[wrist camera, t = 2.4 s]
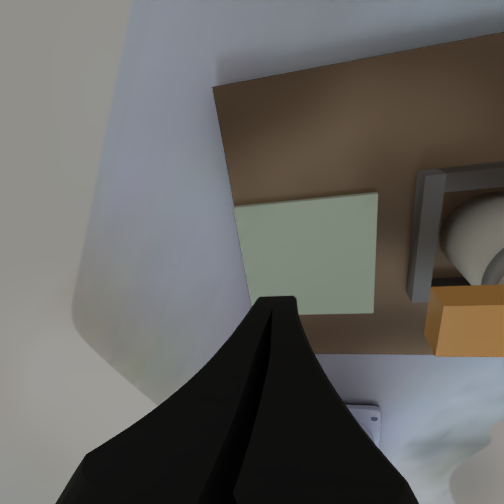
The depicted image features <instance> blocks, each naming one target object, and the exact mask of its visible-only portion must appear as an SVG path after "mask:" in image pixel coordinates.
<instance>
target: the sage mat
mask: <svg viewBox="0 0 504 504" xmlns="http://www.w3.org/2000/svg"><path fill="white" fill-rule="evenodd" d="M233 210H234V215H235V220H236V226H237V231H238V236H239V242H240V247H241V252H242V258H243V263H244V268H245V274H246V279H247V284H248V290H249V295H250V300H251V306H253V305H254V303H255V302H256V300H257V299H258V298H259V297H265V296H294V297H296V298H297V307H298V314H299V315H309V314H359V313H373V312H374V286H375V261H376V235H377V210H378V193H377V192H372V193H361V194H351V195H341V196H331V197H321V198H311V199H301V200H291V201H281V202H271V203H261V204H251V205H241V206H234V208H233Z"/></svg>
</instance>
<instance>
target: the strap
mask: <svg viewBox="0 0 504 504" xmlns="http://www.w3.org/2000/svg"><path fill="white" fill-rule="evenodd" d="M424 335H425V337H426V339H427V341H428V343H429V345H430V347H431V349H432V351H433V353H434V355H435V356H444V357H504V284H499V285H471V286H443V287H431V289H430V296H429V303H428V310H427V317H426V324H425V332H424Z"/></svg>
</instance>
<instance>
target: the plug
mask: <svg viewBox="0 0 504 504" xmlns="http://www.w3.org/2000/svg"><path fill="white" fill-rule="evenodd" d="M440 246H441V249H442V251H443V253H444V255H445V256H446V257H447V258H448V259H449V261H450V262H451V263H452V264H453V265H454V266H455V267H456V268H457V270H458V271H459V272H460V273H461V274H462V275H463V276H464V277H465V279H466V280H467V281H468V282H469V283H470V284H471V285H499V284H504V191H492V192H487V193H483V194H480V195H477V196H475V197H472V198H470V199H468V200H467V201H465V202H463V203H462V204H461V205H459V206H458V207H457V208H456V209H455V210H454V211H453V212H452V213H451V214H450V215H449V216H448V218H447V219H446V220H445V222H444V224H443V226H442V229H441V233H440Z"/></svg>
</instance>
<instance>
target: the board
mask: <svg viewBox="0 0 504 504" xmlns="http://www.w3.org/2000/svg"><path fill="white" fill-rule="evenodd" d="M212 88H213V93H214V99H215V104H216V110H217V115H218V120H219V126H220V131H221V137H222V142H223V147H224V153H225V158H226V164H227V169H228V174H229V180H230V185H231V191H232V196H233V201H234V206H241V205H251V204H261V203H271V202H281V201H291V200H301V199H311V198H321V197H331V196H341V195H351V194H361V193H372V192H377V193H378V210H377V235H376V261H375V286H374V312H373V313H359V314H309V315H299V317H300V321H301V324H302V326H303V329H304V331H305V334H306V336H307V339H308V341H309V343H310V346H311V348H312V350H313V352H314V354H415V355H434V353H433V351H432V349H431V347H430V345H429V343H428V341H427V339H426V337H425V335H424V332H425V324H426V317H427V310H428V303H429V296H430V289H431V287H443V286H471V284H470V283H469V282H468V281H467V280H466V279H465V277H464V276H463V275H462V274H461V273H460V272H459V271H458V270H457V268H456V267H455V266H454V265H453V264H452V263H451V262H450V261H449V259H448V258H447V257H446V256H445V255H444V253H443V251H442V249H441V246H440V233H441V229H442V226H443V224H444V222H445V220H446V219H447V218H448V216H449V215H450V214H451V213H452V212H453V211H454V210H455V209H456V208H457V207H458V206H459V205H461V204H462V203H463V202H465V201H467V200H468V199H470V198H472V197H475V196H477V195H480V194H483V193H487V192H492V191H504V32H502V33H497V34H491V35H486V36H481V37H475V38H470V39H465V40H460V41H454V42H449V43H444V44H438V45H433V46H428V47H422V48H417V49H412V50H407V51H401V52H396V53H391V54H385V55H380V56H375V57H369V58H364V59H359V60H354V61H348V62H343V63H338V64H332V65H327V66H322V67H316V68H311V69H306V70H301V71H295V72H290V73H285V74H279V75H274V76H269V77H263V78H258V79H253V80H248V81H242V82H237V83H232V84H226V85H221V86H216V87H212Z"/></svg>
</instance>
